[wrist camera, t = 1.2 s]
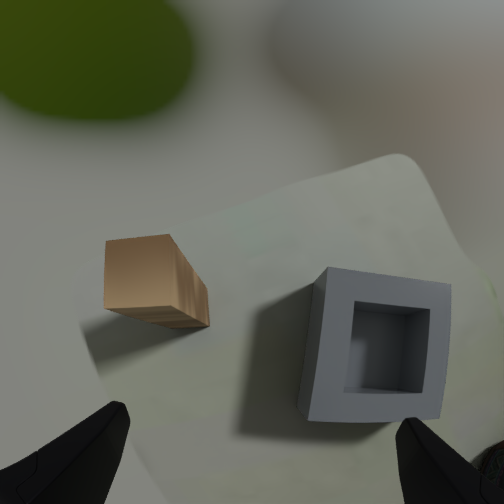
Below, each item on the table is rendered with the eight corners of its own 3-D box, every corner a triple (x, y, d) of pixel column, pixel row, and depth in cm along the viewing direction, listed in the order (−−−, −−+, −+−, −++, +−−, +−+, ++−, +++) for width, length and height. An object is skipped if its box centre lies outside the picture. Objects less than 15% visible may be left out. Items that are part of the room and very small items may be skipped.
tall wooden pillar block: (209, 326, 23) (170, 305, 12) (172, 328, 23) (103, 308, 12) (207, 288, 24) (169, 234, 13) (170, 291, 24) (105, 240, 13)
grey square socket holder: (409, 409, 21) (439, 418, 16) (296, 406, 21) (307, 420, 17) (421, 295, 24) (451, 284, 19) (313, 282, 24) (327, 266, 20)
